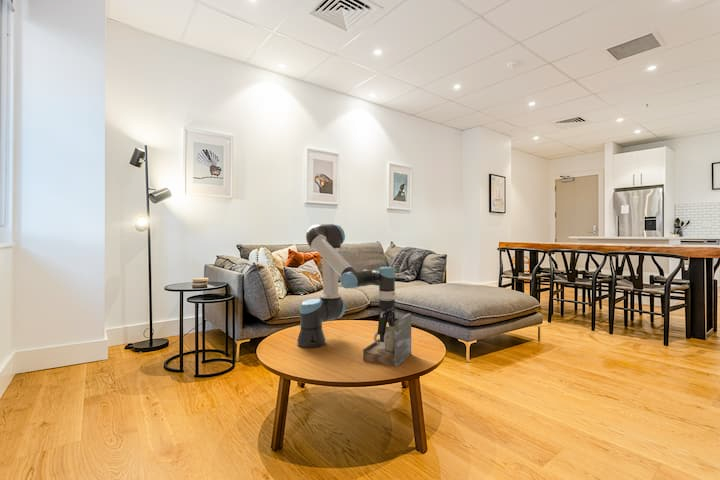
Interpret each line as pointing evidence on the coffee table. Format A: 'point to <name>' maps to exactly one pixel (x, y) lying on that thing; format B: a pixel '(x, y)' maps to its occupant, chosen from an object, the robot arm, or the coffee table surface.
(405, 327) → the cleat board
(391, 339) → the mug
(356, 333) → the coffee table surface
